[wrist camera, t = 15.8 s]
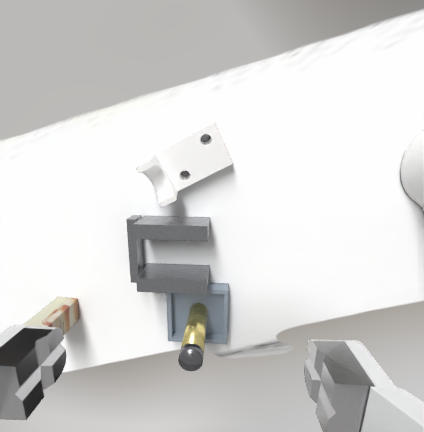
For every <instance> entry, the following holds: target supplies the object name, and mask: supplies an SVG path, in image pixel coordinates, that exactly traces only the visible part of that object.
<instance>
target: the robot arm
mask: <svg viewBox="0 0 424 432" xmlns="http://www.w3.org/2000/svg"><path fill="white" fill-rule="evenodd" d="M401 181H402V184H403V187H404V189H405V191H406V193H407V194H408V195H409V197H410V198H411V199H413V200H414V201H415V202H416V203H418V204H419V205H420V206H421V207H422V209H423V211H424V130H423V131H422V132H421V133H420V134H419V135H418V136H417V137H416V138H415V139H414V140H413V141H412V142H411V144H410V145H409V147H408V148H407V150H406V152H405V155H404V157H403V160H402V165H401ZM63 339H64V337H63V332H62V329H60V328H57V327H43V326H25V325H14V326H10V327H8V328H7V329H6V330H4V331H3V332H2V333H0V419H7V420H11V419H12V420H27V418H28V417H29V416H30V414H31V413H32V412H33V411H34V409H35V408H36V407H37V405H38V404H39V403H40V401H41V400H42V399H43V398H44V391H45V389H46V388H47V387H49V386H51V385H52V384H54V383H55V382H56V380H57V379H58V378H59V376H60V375H61V373H62V371H63V368H64V366H65V363H66V350H65V349H64V347H63V346H62V345H61V344H60V343H61V342H62V340H63ZM307 352H308V354H309V358H308V359H307V360H306V361H305V368H304V372H305V382H306V386H307V390H308V392H309V395H310V397H311V398H312V399H313V400H314V401H315V402H316V403H317V408H316V414H317V417H318V420H319V422H320V425H321V427H322V430H323V432H424V402H422V401H421V400H419V399H418V398H416V397H415V396H413V395H412V394H410V393H409V392H407V391H406V390H404V389H402V388H397V387H396V386H395V385H394V384H393V382H392V381H391V380H390V378H389V377H388V376H387V375H386V373H385V372H384V371H383V369H382V368H381V367H380V366H379V364H378V363H377V362H376V361H375V359H374V358H373V357H372V355H371V354H370V353H369V352H368V350H367V349H366V348H365V346H364V345H363V344H362V343H361V342H359V341H355V340H341V341H339V340H314V339H310V340H309V341H308V344H307Z"/></svg>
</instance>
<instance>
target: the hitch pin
mask: <svg viewBox="0 0 424 432" xmlns="http://www.w3.org/2000/svg"><path fill="white" fill-rule="evenodd" d="M207 313H208V310H207V307H206V306H205V305H204V304H202V303H195V304H193V305H192V306H191V307H190V310H189V315H188V319H187V324H186V328H185V333H184V337H183V342H182V346H181V351H180V355H179V364H180V366H181V367H182V368H183V369H185V370H187V371H195V370H198V369H199V368H200V367H201V366H202V362H203V352H204V343H205V333H206V323H207Z"/></svg>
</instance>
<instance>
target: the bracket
mask: <svg viewBox="0 0 424 432" xmlns="http://www.w3.org/2000/svg"><path fill="white" fill-rule="evenodd" d="M204 134H208V135H210V139H209V141H207V142H203V141H201V139H200V138H201V136H202V135H204ZM231 164H233V161H232V159H231V157H230V154H229V152H228V150H227V148H226V146H225V143H224V141H223V139H222V137H221V135H220V132H219V130H218V128H217V126H216V123H215V121H214V120H212V121H210V122H208V123H206V124H204V125H202V126H200V127H199V128H197V129H195V130H193V131H191V132H189V133H187V134H186V135H184V136H182V137H180V138H178V139H176V140H174V141H172V142H171V143H169V144H167V145H165V146H163V147H161V148H159V149H157V150H156V151H154V152H152V153H150V154H148V155H146V156H145V157H144V158H143V159H142V160H141V162H140V163H139V164H138V165H137V166H136V169H137V171H138V172H139V173H143V174H145V175H146V176H147V177H148V178H149V180H150V181H151V182H152V184H153V186H154V187H155V189H156V192H157V194H158V198H159V204H160V206H161V207H164V206H166V205H168V204H170V203H172V202H174V201H176V199H177V193H178V191H179V190H181V189H183V188H185V187H187V186H189V185H191V184H193V183H195V182H197V181H199V180H201V179H203V178H205V177H207V176H209V175H211V174H213V173H215V172H217V171H219V170H221V169H223V168H225V167H227V166H229V165H231ZM182 171H188V172H189V173H190V175H189V176H186V177H185V176H182V175H181V172H182Z"/></svg>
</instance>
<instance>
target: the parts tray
mask: <svg viewBox="0 0 424 432" xmlns="http://www.w3.org/2000/svg"><path fill="white" fill-rule="evenodd" d="M228 294H229V288H228V284H226V283H208V289H207V294H186V293H167V321H168V341H179V342H183V337H184V333H185V328H186V324H187V319H188V315H189V310H190V307H191V306H192V305H193V304H195V303H202V304H204V305H205V306H206V307H207V310H208V313H207V323H206V333H205V343H222V344H227V322H228Z"/></svg>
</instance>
